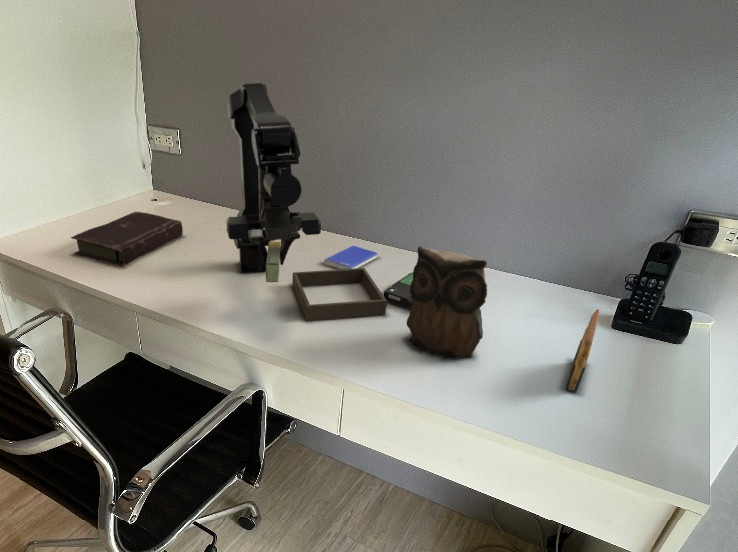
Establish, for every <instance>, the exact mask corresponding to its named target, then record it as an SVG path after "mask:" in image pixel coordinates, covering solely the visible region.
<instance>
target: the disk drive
mask: <svg viewBox="0 0 738 552" xmlns="http://www.w3.org/2000/svg"><path fill="white" fill-rule="evenodd" d="M412 281H413V271H412V272H410V273H408V274H407V275H405V276H403V277H402V278H400V279H399V280H397V281H396V282H394V283H393V284H392V285H390V286H388V287H387V288H385V289H384V290H383V296H384V297H385V299H386V300H387V303H390V304H393V305H395V306H396V305H397V306H400V307H402V308H405V309H408V310H410V308H411V306H412V298H411V294H410V286H411V282H412Z"/></svg>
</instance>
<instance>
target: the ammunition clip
mask: <svg viewBox="0 0 738 552" xmlns="http://www.w3.org/2000/svg"><path fill="white" fill-rule="evenodd" d="M599 317H600V309H599V308H597V309H596V310H595V311H594V312H593V314H592V315H591V318H590V319H589V321H588V325H587V326H586V328H585V330H584V332H583V336H582V338H581V339H580V341H579V344H578V347H577V349H576V352H575V355H574V357H573V358H574V359H573V361H572V364H571V367H570V370H569V374H568V377H567V381H566V384H565V388H564V390H565V391H568V392H572V393H577V392H578V388H579V387H580V384H581V380H582V378H583V375H584V372H585V370H586V366H587V363H588V359H589V356H590V353H591V350H592V346H593V341H594V337H595V333H596V329H597V326H598V321H599Z"/></svg>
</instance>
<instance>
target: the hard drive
mask: <svg viewBox="0 0 738 552" xmlns="http://www.w3.org/2000/svg"><path fill="white" fill-rule="evenodd" d="M376 259H378V252H376V251H374V250H371V249H366V248H362V247H359V246H356V245H351V246H349V247H347V248H345V249H342V250H341V251H339V252H337V253H335V254H333V255H330V256H328V257H326V258H325V259H324V262H323V263H324V265H326V266H329V267H332V268H335V269H336V270H339V269H355V268H362V267H363V266H364V265H366V264H368V263H370V262H372V261H373V260H376Z"/></svg>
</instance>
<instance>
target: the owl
mask: <svg viewBox="0 0 738 552" xmlns="http://www.w3.org/2000/svg"><path fill="white" fill-rule="evenodd" d="M487 265H488V262H487V260H485V259H480V258H477V257H472V256H469V255H467V254H463V253H456V252H453V251H449V250H440V249H431V248H425V247H424V246H423V245H419V246H418V247H417V260H416V264H415V265H414V267H413V271H412V272H413V281H412V282H411V286H410V294H411V298H412V306H411V308H410V309H409V314H408V317H407V320H406V327H408V329H409V331H410V334H411V335H410V337H409V338H408V340H407V342H408V343H410V345H411V346H413V347H414V349H416V350H418V351H422V352H429V354H430V355H436V356H441V357H442V358H443V359H465V358H467V359H471V358H473V353H474V351H475V350H476V348H477V347H478V345H479V343H480V341H481V340H482V339H483V336H484V330H483V318H482V310H481V308H482V306H484V305H485V304H486V298H487V296H488V284H487V282H486V273H485V268H486V267H487Z"/></svg>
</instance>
